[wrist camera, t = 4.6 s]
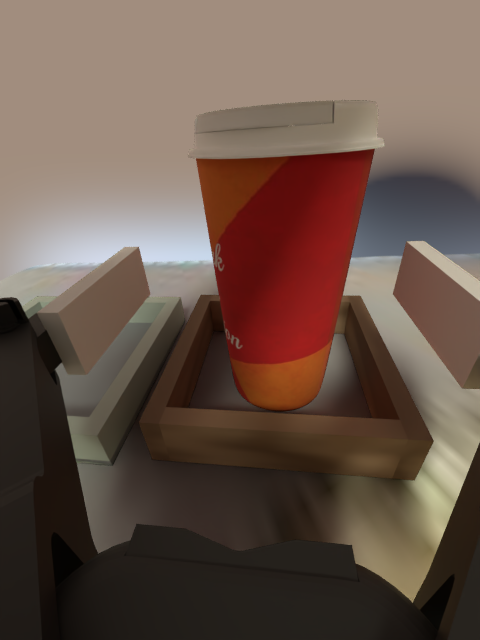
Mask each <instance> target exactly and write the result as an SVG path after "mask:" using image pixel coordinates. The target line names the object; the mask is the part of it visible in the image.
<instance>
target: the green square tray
mask: <svg viewBox="0 0 480 640" xmlns="http://www.w3.org/2000/svg"><path fill="white" fill-rule="evenodd" d="M56 298H57V297H56V296H37V297H36V298H34V299H33V300H31V301H30V302H28V303H27V304H25V305H24V306H22V308H23V310H24V312H25V314H26V315H27V317H28V319H29V318H30V317H31V316H33V315H34V314H35V313H37V312H38V311H39V310H41V309H42V308H43V307H45V306H46V305H47V304H49V303H50V302H51V301H53V300H54V299H56ZM184 322H185V318H184V312H183V307H182V302H181V297H148V298H147V299H146V300H145V302H144V303H143V304H142V305H141V307H140V308H139V309H138V310H137V312H136V313H135V314H134V316H133V317H132V318H131V319H130V321H129V322H128V323H127V324H126V326H125V327H124V328H123V329H122V331H121V332H120V333H119V335H118V336H117V337H116V338H115V340H114V341H113V342H112V343H111V345H110V346H109V347H108V348H107V350H106V351H105V352H104V354H103V355H102V356H101V357H100V359H99V360H98V361H97V362H96V364H95V365H94V366H93V368H92V369H91V370H90V371H89V373H88V374H87V375H68V374H67V372H66V370H65V368H64V366H63V364H62V363H61V364H60V365H59V366H58V367H57V368H56V369H55V370H56V372H57V374H58V376H59V379H60V384H61V389H62V394H63V399H64V404H65V409H66V414H67V419H68V423H69V428H70V433H71V438H72V443H73V448H74V453H75V458H76V463H87V464H99V465H111V466H112V465H113V463H114V461H115V459H116V457H117V455H118V453H119V451H120V449H121V447H122V445H123V443H124V441H125V439H126V437H127V435H128V433H129V431H130V429H131V427H132V425H133V423H134V422H135V420H136V418H137V416H138V414H139V412H140V410H141V408H142V406H143V404H144V402H145V400H146V398H147V396H148V394H149V392H150V390H151V388H152V386H153V384H154V382H155V380H156V378H157V376H158V374H159V372H160V370H161V368H162V366H163V364H164V362H165V360H166V358H167V356H168V354H169V352H170V350H171V348H172V346H173V344H174V342H175V340H176V338H177V336H178V334H179V332H180V330H181V328H182V326H183V324H184Z"/></svg>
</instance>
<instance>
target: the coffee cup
mask: <svg viewBox="0 0 480 640" xmlns="http://www.w3.org/2000/svg"><path fill="white" fill-rule="evenodd" d="M292 125H295V126H292ZM377 130H378V106H377V105H376V102H373V101H360V100H350V101H349V100H344V101H343V100H341V101H315V102H298V103H285V104H272V105H261V106H251V107H242V108H234V109H226V110H219V111H213V112H208V113H204V114H201V115H198V116H197V118H196V119H195V133H194V134H195V135H194V137H195V139H194V140H195V141H194V142H195V148H194V149H190V150H189V155H188V157H189V158H196V161H197V167H198V173H199V179H200V185H201V191H202V197H203V203H204V209H205V215H206V220H207V227H208V233H209V239H210V244H211V251H212V256H213V263H214V269H215V275H216V281H217V287H218V292H219V298H220V304H221V310H222V316H223V322H224V328H225V334H226V339H227V345H228V351H229V356H230V362H231V367H232V372H233V377H234V381H235V385H236V387H237V390H238V391H239V393H240V394H241V396H242V397H243V398H244V399H245V400H247V401H248V402H249V403H251V404H253V405H254V406H257V407H259V408H262V409H265V410H270V411H290V410H295V409H298V408H301V407H303V406H305V405H307V404H309V403H310V402H311V401H312V400H313V399H314V398H315V397H316V396H317V395H318V393H319V391H320V388H321V385H322V382H323V378H324V374H325V370H326V366H327V362H328V358H329V354H330V349H331V345H332V340H333V336H334V332H335V327H336V323H337V318H338V314H339V309H340V305H341V300H342V296H343V291H344V287H345V282H346V278H347V273H348V268H349V264H350V259H351V255H352V250H353V246H354V241H355V236H356V232H357V227H358V223H359V218H360V214H361V209H362V205H363V200H364V196H365V191H366V186H367V182H368V177H369V173H370V168H371V164H372V159H373V155H374V150H375V148H380V147H384V145H385V144H384V140H383V138H379V137H377Z"/></svg>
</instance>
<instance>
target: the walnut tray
mask: <svg viewBox="0 0 480 640" xmlns="http://www.w3.org/2000/svg"><path fill="white" fill-rule="evenodd" d="M214 331H225V328H224V322H223V316H222V310H221V304H220V298H219V295H201V296H200V298H199V300H198V302H197V304H196V306H195V308H194V310H193V312H192V314H191V316H190V318H189V320H188V322H187V324H186V326H185V328H184V330H183V332H182V334H181V337H180V339H179V341H178V343H177V345H176V347H175V349H174V351H173V353H172V355H171V357H170V359H169V361H168V363H167V365H166V367H165V369H164V371H163V373H162V375H161V378H160V380H159V382H158V384H157V386H156V388H155V390H154V392H153V394H152V396H151V398H150V400H149V402H148V404H147V406H146V408H145V410H144V412H143V414H142V416H141V418H140V421H139V425H140V428H141V430H142V433H143V436H144V439H145V441H146V444H147V447H148V449H149V452H150V455H151V457H152V460H165V461H178V462H190V463H203V464H215V465H228V466H241V467H253V468H266V469H278V470H291V471H304V472H316V473H329V474H341V475H354V476H367V477H379V478H392V479H404V480H415V478H416V476H417V474H418V472H419V470H420V468H421V466H422V464H423V462H424V460H425V458H426V456H427V454H428V452H429V450H430V448H431V446H432V444H433V442H434V441H433V439H432V437H431V435H430V433H429V431H428V429H427V427H426V425H425V423H424V421H423V419H422V417H421V415H420V413H419V411H418V409H417V407H416V405H415V403H414V401H413V399H412V397H411V395H410V393H409V391H408V389H407V387H406V385H405V383H404V381H403V379H402V377H401V375H400V373H399V371H398V369H397V367H396V365H395V363H394V361H393V359H392V357H391V355H390V353H389V351H388V349H387V348H386V346H385V344H384V342H383V340H382V338H381V336H380V334H379V332H378V330H377V328H376V326H375V324H374V322H373V320H372V318H371V316H370V314H369V312H368V310H367V308H366V306H365V304H364V302H363V300H362V298H361V296H342V300H341V305H340V309H339V314H338V318H337V323H336V327H335V332H334V333H338V334H345V337H346V340H347V343H348V346H349V349H350V352H351V355H352V358H353V361H354V364H355V367H356V370H357V373H358V377H359V380H360V383H361V386H362V389H363V392H364V395H365V398H366V401H367V404H368V407H369V410H370V413H371V416H372V418H357V417H339V416H321V415H303V414H285V413H266V412H248V411H230V410H212V409H194V408H188V407H189V404H190V401H191V398H192V395H193V392H194V389H195V386H196V383H197V380H198V377H199V374H200V371H201V368H202V365H203V362H204V359H205V356H206V353H207V350H208V347H209V344H210V341H211V338H212V335H213V332H214Z"/></svg>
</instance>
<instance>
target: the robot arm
mask: <svg viewBox="0 0 480 640" xmlns="http://www.w3.org/2000/svg"><path fill="white" fill-rule="evenodd" d="M149 295H150V290H149V286H148V282H147V278H146V274H145V270H144V266H143V262H142V258H141V254H140V250H139V247H124V248H123V249H122V250H120V251H119V252H118V253H116V254H115V255H113V256H112V257H111V258H109V259H108V260H107V261H105V262H104V263H103V264H101V265H100V266H99V267H97V268H96V269H95V270H93V271H92V272H91V273H89V274H88V275H87V276H85V277H84V278H83V279H81V280H80V281H78V282H77V283H76V284H74V285H73V286H72V287H70V288H69V289H68V290H66V291H65V292H64V293H62V294H61V295H60V296H58V297H57V298H56V299H54V300H53V301H51V302H50V303H49V304H47V305H46V306H45V307H43V308H42V309H41V310H39V311H38V312H37V313H35V314H34V315H33V316H31V317H30V318H29V319H28V317H27V315H26V314H25V312H24V310H23V308H22V306H21V304H20V302H19V300H18V299H17V298H12V297H10V298H1V299H0V640H480V443H479V446H478V448H477V451H476V453H475V456H474V458H473V461H472V463H471V466H470V468H469V471H468V473H467V476H466V479H465V481H464V484H463V486H462V489H461V491H460V494H459V496H458V499H457V501H456V504H455V506H454V509H453V511H452V514H451V516H450V519H449V522H448V524H447V527H446V529H445V532H444V534H443V537H442V539H441V542H440V544H439V547H438V549H437V552H436V554H435V557H434V559H433V562H432V565H431V567H430V569H429V572H428V574H427V576H426V578H425V580H424V582H423V584H422V586H421V588H420V589H419V591H418V593H417V595H416V597H415V599H414V601H413V603H412V602H411V601H410V600H409V599H408V598H407V597H406V596H405V595H404V594H402V593H401V592H400V591H399V590H398V589H397V588H395V587H394V586H393V585H392V584H390V583H389V582H387V581H386V580H385V579H383V578H382V577H380V576H379V575H377V574H375V573H374V572H372V571H370V570H368V569H367V568H365V567H363V566H360V565H358V564H356V563H355V560H354V554H353V549H352V545H345V544H335V543H325V542H315V541H305V540H291V541H287V542H282V543H277V544H273V545H268V546H263V547H259V548H254V549H249V550H245V551H235V550H232V549H230V548H228V547H225V546H223V545H221V544H219V543H217V542H214V541H212V540H210V539H208V538H205V537H203V536H201V535H199V534H196V533H194V532H192V531H190V530H187V529H183V528H173V527H162V526H152V525H142V524H136V527H135V530H134V533H133V535H132V538H131V541H128V542H124V543H122V544H119V545H116V546H113V547H111V548H109V549H107V550H105V551H103V552H101V553H99V554H98V552H97V550H96V547H95V545H94V542H93V539H92V536H91V532H90V527H89V522H88V517H87V512H86V507H85V502H84V497H83V492H82V487H81V482H80V478H79V473H78V468H77V463H76V458H75V453H74V448H73V443H72V438H71V433H70V428H69V423H68V419H67V414H66V409H65V404H64V399H63V394H62V389H61V384H60V379H59V376H58V374H57V372H56V370H55V369H56V368H57V367H58V366H59V365H60V364H61V363H62V364H63V366H64V368H65V370H66V372H67V374H68V375H87V374H88V373H89V371H90V370H91V369H92V368H93V366H94V365H95V364H96V362H97V361H98V360H99V359H100V357H101V356H102V355H103V354H104V352H105V351H106V350H107V348H108V347H109V346H110V345H111V343H112V342H113V341H114V340H115V338H116V337H117V336H118V335H119V333H120V332H121V331H122V329H123V328H124V327H125V326H126V324H127V323H128V322H129V321H130V319H131V318H132V317H133V316H134V314H135V313H136V312H137V310H138V309H139V308H140V307H141V305H142V304H143V303H144V302H145V300H146V299H147V298H148V296H149ZM393 295H394V296H395V298H396V299H397V300H398V302H399V303H400V304H401V306H402V307H403V308H404V310H405V311H406V313H407V314H408V315H409V317H410V318H411V319H412V321H413V322H414V323H415V325H416V326H417V328H418V329H419V330H420V332H421V333H422V334H423V336H424V337H425V338H426V340H427V341H428V343H429V344H430V345H431V347H432V348H433V349H434V351H435V352H436V353H437V355H438V356H439V358H440V359H441V360H442V362H443V363H444V364H445V366H446V367H447V368H448V370H449V371H450V373H451V374H452V375H453V377H454V378H455V379H456V381H457V382H458V383H459V385H460V386H461V387H462V388H465V389H480V281H479V280H478V279H476V278H475V277H473V276H472V275H471V274H469V273H468V272H466V271H465V270H464V269H462V268H461V267H460V266H458V265H457V264H455V263H454V262H453V261H451V260H450V259H448V258H447V257H446V256H444V255H443V254H441V253H440V252H439V251H437V250H436V249H434V248H433V247H432V246H430V245H429V244H427V243H426V242H425V241H407V242H406V245H405V249H404V253H403V257H402V261H401V265H400V268H399V272H398V276H397V280H396V284H395V288H394V292H393Z"/></svg>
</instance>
